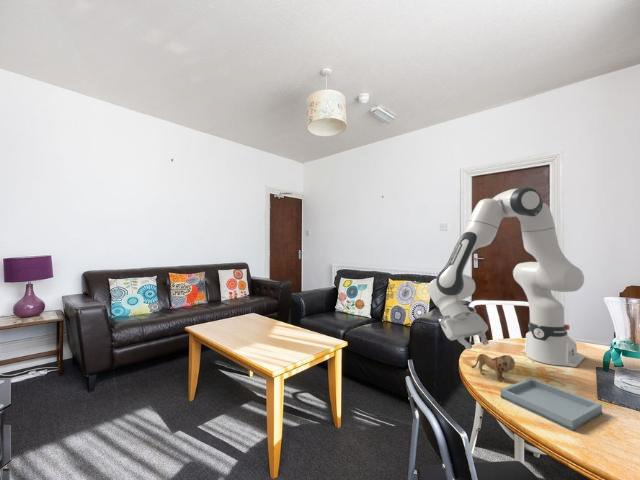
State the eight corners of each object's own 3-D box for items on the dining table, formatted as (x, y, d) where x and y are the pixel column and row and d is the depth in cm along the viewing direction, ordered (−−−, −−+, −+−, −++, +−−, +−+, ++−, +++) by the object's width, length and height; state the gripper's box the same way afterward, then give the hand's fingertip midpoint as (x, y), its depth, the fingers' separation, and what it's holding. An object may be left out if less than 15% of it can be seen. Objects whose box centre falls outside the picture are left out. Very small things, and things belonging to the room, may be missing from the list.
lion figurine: (518, 381, 99) (517, 355, 99) (511, 386, 96) (510, 359, 96) (474, 367, 111) (474, 343, 111) (467, 370, 108) (466, 346, 108)
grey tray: (530, 385, 96) (530, 378, 96) (602, 413, 80) (601, 404, 80) (500, 397, 89) (500, 389, 89) (572, 431, 73) (572, 421, 73)
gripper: (441, 312, 111) (464, 346, 102) (476, 307, 120) (501, 338, 111) (432, 321, 115) (454, 355, 106) (467, 315, 124) (490, 346, 115)
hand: (478, 346), depth 108 cm, fingers open, 8 cm apart
